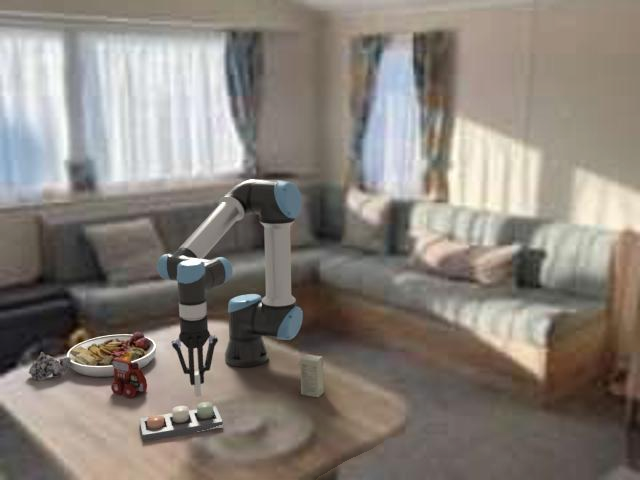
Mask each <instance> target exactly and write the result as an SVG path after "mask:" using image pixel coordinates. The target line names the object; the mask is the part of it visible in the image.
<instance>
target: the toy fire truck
mask: <svg viewBox="0 0 640 480" xmlns="http://www.w3.org/2000/svg"><path fill="white" fill-rule="evenodd" d="M112 363H113V368H114V376H113V378H114V380H113V382H112V384H111V386H110V388H111V391H112V393H113V394H114V395H121V394H122V393H124V396H125V397H126V398H127V399H128V398H130V399H132V398H133V397H135V396H136V393H137V392H141V393H143V392H146V391H147V389H148V383H147V378H146V377H145V373H144V372H143V369H142V368H138V367H139V365H138V363H137V362H134V363H132V362H130V361H126V360H121V359H115V360H113V362H112Z"/></svg>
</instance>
